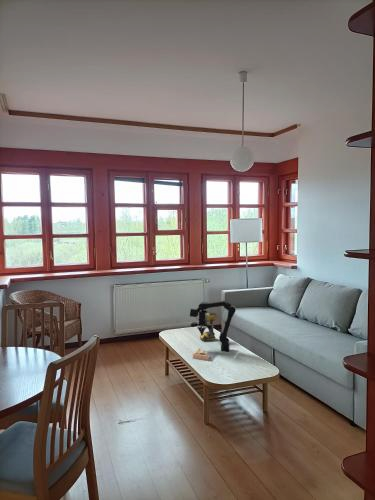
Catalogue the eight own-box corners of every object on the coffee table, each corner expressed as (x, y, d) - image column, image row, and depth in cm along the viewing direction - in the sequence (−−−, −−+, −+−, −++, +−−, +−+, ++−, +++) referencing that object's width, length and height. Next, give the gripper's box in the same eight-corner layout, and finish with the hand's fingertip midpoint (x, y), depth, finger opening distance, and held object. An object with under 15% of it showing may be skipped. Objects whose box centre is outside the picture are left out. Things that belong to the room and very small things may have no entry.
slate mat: (219, 353, 306) (219, 352, 306) (212, 362, 288) (212, 361, 288) (199, 350, 312) (199, 350, 312) (191, 358, 294) (191, 358, 294)
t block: (208, 355, 299) (208, 350, 299) (205, 359, 292) (205, 354, 292) (198, 354, 303) (198, 349, 302) (194, 357, 295) (194, 352, 295)
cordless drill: (193, 339, 340) (193, 313, 338) (213, 337, 347) (213, 311, 345) (196, 342, 332) (197, 315, 330) (217, 340, 339) (217, 313, 337)
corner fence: (214, 354, 303) (214, 350, 303) (208, 360, 290) (208, 356, 289) (198, 351, 308) (198, 348, 308) (192, 358, 295) (192, 354, 294)
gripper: (215, 316, 318) (215, 333, 319) (195, 314, 324) (194, 331, 326) (211, 319, 307) (211, 337, 309) (190, 317, 314) (190, 335, 315)
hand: (202, 335), depth 315 cm, fingers closed
